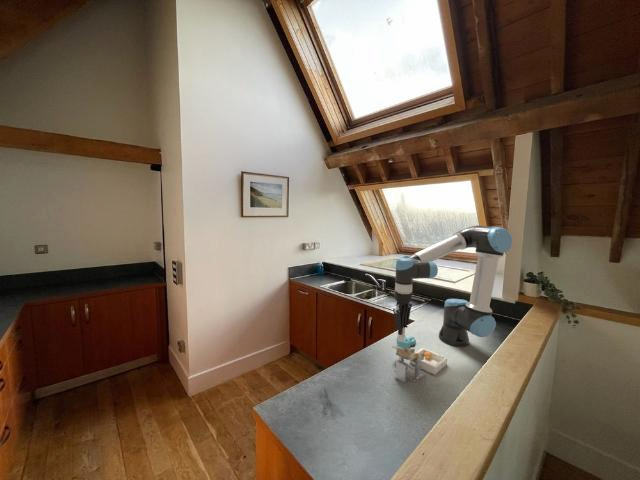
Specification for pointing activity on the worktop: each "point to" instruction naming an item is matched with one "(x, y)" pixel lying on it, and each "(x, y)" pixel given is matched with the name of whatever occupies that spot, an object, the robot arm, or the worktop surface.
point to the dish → (432, 362)
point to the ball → (427, 355)
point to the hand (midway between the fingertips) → (401, 340)
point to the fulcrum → (407, 370)
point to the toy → (406, 342)
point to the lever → (408, 353)
